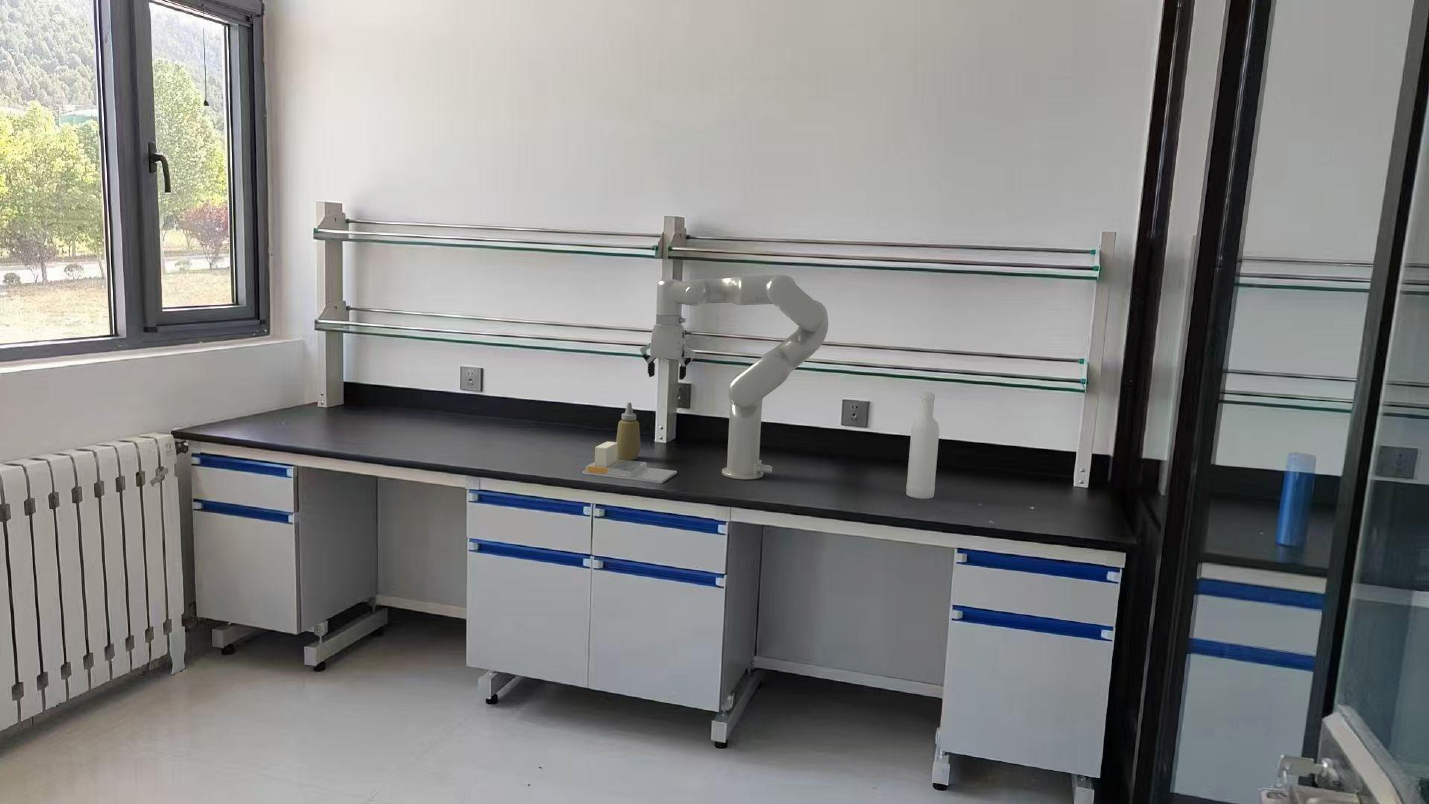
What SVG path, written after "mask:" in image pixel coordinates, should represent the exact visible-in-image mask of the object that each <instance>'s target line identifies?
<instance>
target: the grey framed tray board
mask: <svg viewBox="0 0 1429 804" xmlns="http://www.w3.org/2000/svg"><path fill="white" fill-rule="evenodd" d="M647 465H648V462H646V461H637V460H623V459H619V458H617V464H615V465H613V466H611V467H609V468H603V467H595V461H593V462H591V463H589V464H587V465H585V469H583V470H582V475H590V476H595V477H596V476H598V477H604V478H605V477H606V478H613V479H622V480H629V481H630V480H631V481H638V482H644V483H645V482H646V483H654V484H655V483H656V484H663V483H665V482H666V481H668V480H669V479H671V478H673V477H674V476H675V475H677V474H678V473H677V470H671V469H663V468H655V467H648V466H647Z"/></svg>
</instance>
